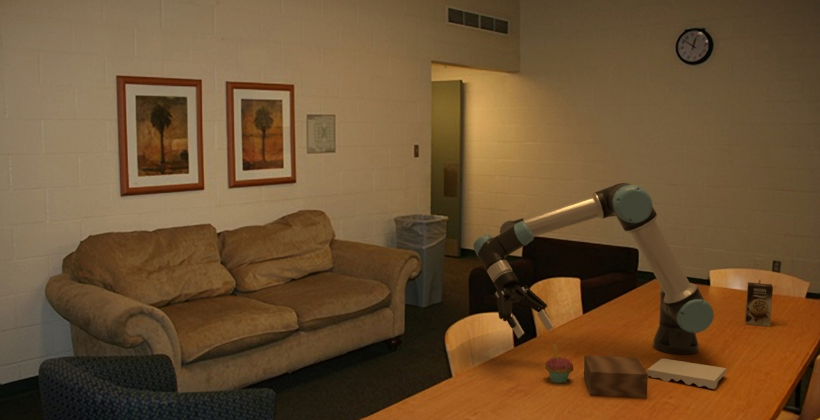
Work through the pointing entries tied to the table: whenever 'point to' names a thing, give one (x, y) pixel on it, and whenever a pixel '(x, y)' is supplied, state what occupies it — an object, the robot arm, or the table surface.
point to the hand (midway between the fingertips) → (536, 332)
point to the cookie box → (758, 304)
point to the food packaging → (687, 372)
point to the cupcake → (559, 368)
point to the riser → (615, 376)
